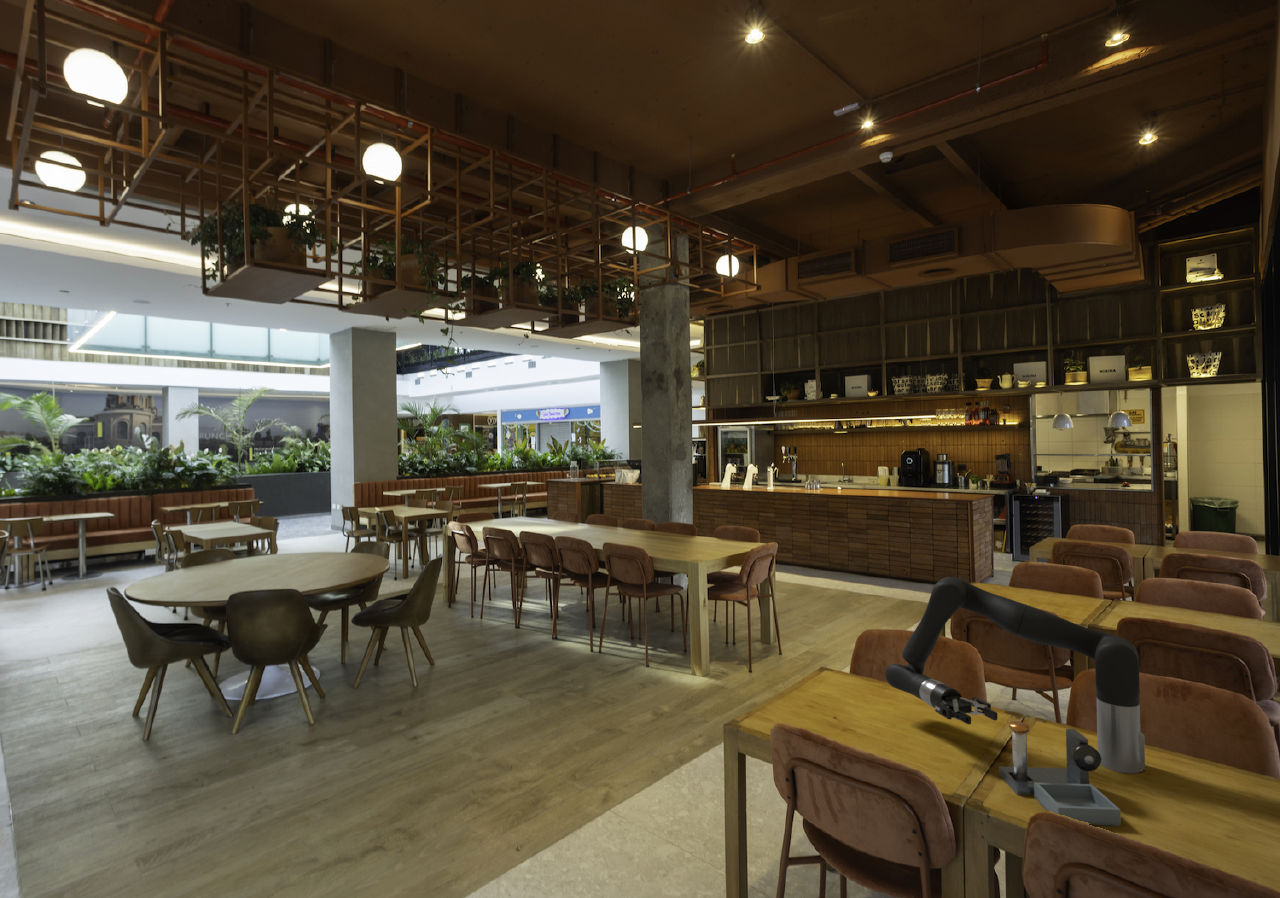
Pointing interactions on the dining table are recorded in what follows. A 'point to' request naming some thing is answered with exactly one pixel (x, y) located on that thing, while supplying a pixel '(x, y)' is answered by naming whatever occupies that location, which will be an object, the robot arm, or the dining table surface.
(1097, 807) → the tray
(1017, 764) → the lock pin
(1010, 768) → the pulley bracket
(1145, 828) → the dining table surface
